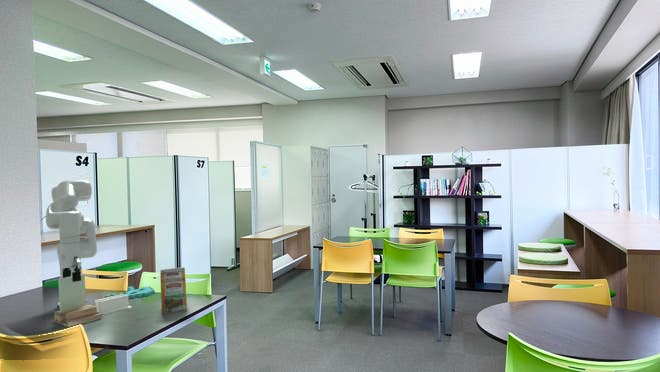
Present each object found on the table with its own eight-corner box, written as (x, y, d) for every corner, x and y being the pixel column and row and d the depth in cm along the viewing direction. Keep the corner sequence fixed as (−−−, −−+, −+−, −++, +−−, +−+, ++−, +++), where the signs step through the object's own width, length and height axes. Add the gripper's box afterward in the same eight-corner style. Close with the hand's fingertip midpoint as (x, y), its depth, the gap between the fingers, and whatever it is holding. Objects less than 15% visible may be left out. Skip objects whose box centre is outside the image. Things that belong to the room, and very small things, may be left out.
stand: (94, 314, 196) (94, 300, 196) (122, 307, 206) (122, 293, 206) (104, 317, 191) (103, 302, 191) (132, 309, 201) (131, 296, 201)
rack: (54, 325, 183) (54, 312, 183) (87, 316, 193) (86, 304, 193) (68, 330, 174) (68, 317, 174) (102, 321, 184) (101, 308, 184)
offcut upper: (62, 317, 180) (62, 311, 180) (90, 310, 189) (90, 304, 189) (68, 319, 176) (68, 313, 176) (96, 312, 185) (96, 306, 185)
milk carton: (186, 305, 205) (184, 265, 205) (186, 311, 195) (185, 269, 195) (162, 308, 202) (160, 267, 202) (161, 314, 192) (160, 271, 192)
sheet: (60, 321, 183) (58, 278, 183) (85, 314, 191) (83, 274, 191) (61, 321, 182) (59, 279, 182) (86, 315, 190) (84, 274, 190)
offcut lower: (63, 323, 180) (62, 317, 180) (90, 316, 189) (90, 310, 189) (69, 325, 176) (68, 319, 176) (97, 318, 185) (96, 312, 185)
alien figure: (104, 300, 224) (139, 300, 220) (104, 295, 224) (138, 296, 220) (130, 290, 244) (161, 290, 240) (129, 286, 244) (161, 286, 240)
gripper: (52, 241, 188) (54, 280, 188) (69, 242, 178) (71, 283, 178) (70, 239, 194) (72, 277, 194) (88, 240, 184) (90, 280, 184)
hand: (71, 280), depth 186 cm, fingers open, 9 cm apart
